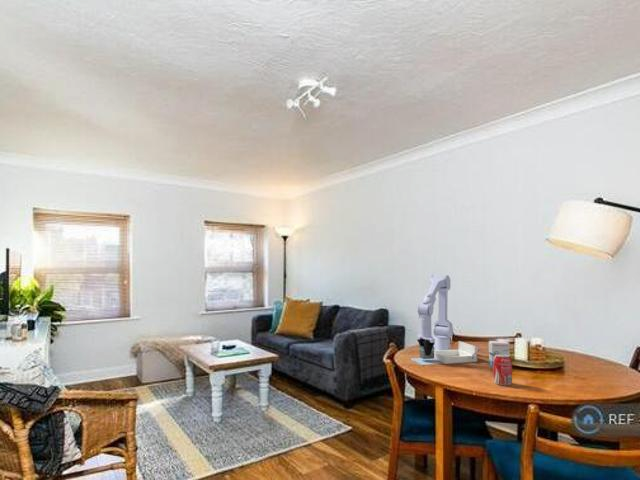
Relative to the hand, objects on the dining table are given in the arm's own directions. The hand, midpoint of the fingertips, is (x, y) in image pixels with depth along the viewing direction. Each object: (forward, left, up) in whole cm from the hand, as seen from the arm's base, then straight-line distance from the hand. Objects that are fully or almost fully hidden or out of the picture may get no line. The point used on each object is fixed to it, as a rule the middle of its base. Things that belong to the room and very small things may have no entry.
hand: (426, 354), depth 202 cm
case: (+1, +16, -4) cm, 16 cm away
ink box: (+16, +31, -4) cm, 35 cm away
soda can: (+41, +13, -4) cm, 43 cm away
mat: (0, 0, -4) cm, 4 cm away
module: (0, +1, -2) cm, 2 cm away
